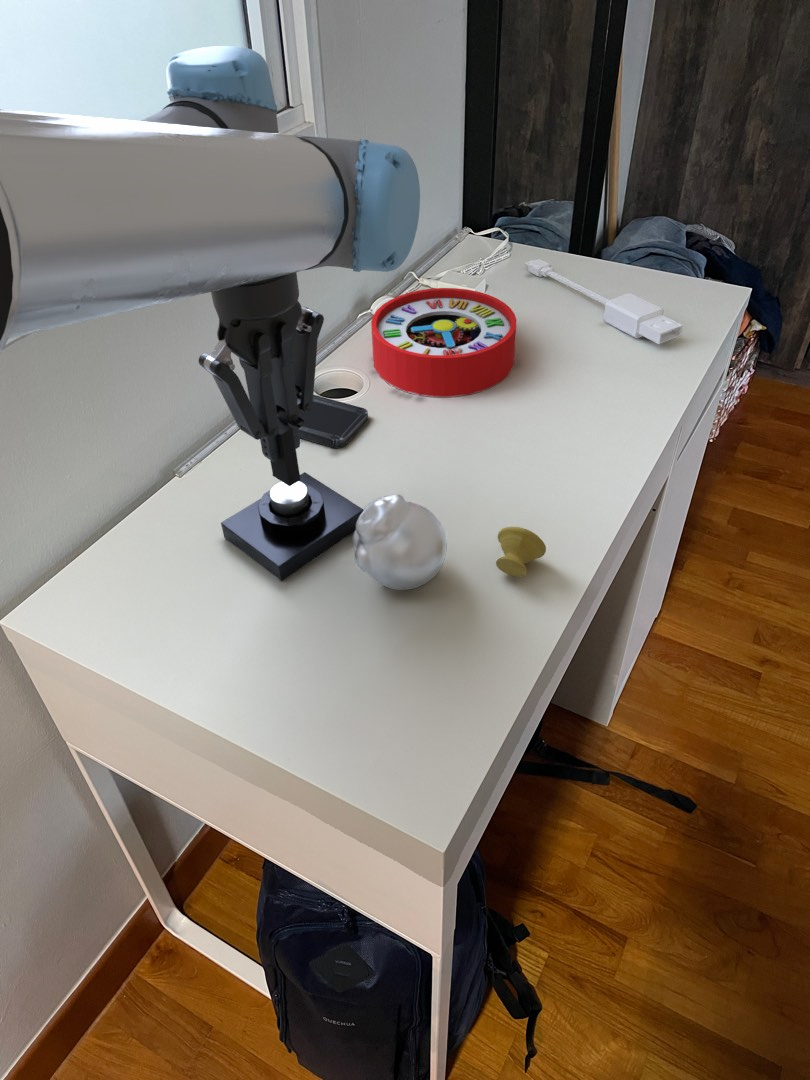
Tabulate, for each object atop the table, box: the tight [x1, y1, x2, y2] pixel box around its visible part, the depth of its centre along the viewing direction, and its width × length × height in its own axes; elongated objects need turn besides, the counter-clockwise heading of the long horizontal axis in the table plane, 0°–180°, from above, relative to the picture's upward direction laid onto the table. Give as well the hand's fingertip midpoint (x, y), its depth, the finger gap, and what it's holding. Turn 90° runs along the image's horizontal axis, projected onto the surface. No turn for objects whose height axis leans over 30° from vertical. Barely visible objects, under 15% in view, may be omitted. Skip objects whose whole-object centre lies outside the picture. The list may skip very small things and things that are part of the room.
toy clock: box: [370, 287, 517, 398], centre depth 114 cm, size 20×6×20 cm
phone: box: [277, 393, 369, 449], centre depth 106 cm, size 8×1×15 cm
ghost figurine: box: [352, 493, 448, 591], centre depth 81 cm, size 9×10×10 cm
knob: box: [495, 526, 547, 578], centre depth 83 cm, size 5×5×5 cm
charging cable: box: [524, 258, 684, 345], centre depth 126 cm, size 5×32×3 cm, turn 31°
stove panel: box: [220, 472, 364, 582], centre depth 89 cm, size 12×10×4 cm
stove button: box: [269, 481, 310, 518], centre depth 87 cm, size 4×4×2 cm
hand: (286, 477), depth 85 cm, fingers closed
